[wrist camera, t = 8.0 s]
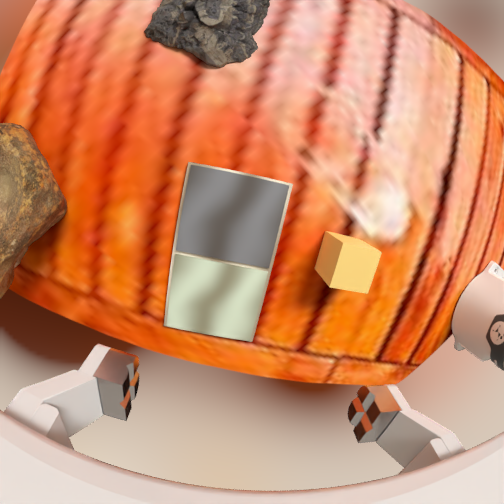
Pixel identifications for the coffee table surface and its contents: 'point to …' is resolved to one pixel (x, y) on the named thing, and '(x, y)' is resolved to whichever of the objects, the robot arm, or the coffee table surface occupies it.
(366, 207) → the coffee table surface
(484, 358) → the robot arm
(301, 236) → the coffee table surface
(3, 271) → the rough brown rock
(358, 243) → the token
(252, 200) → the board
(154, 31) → the dark grey rock
